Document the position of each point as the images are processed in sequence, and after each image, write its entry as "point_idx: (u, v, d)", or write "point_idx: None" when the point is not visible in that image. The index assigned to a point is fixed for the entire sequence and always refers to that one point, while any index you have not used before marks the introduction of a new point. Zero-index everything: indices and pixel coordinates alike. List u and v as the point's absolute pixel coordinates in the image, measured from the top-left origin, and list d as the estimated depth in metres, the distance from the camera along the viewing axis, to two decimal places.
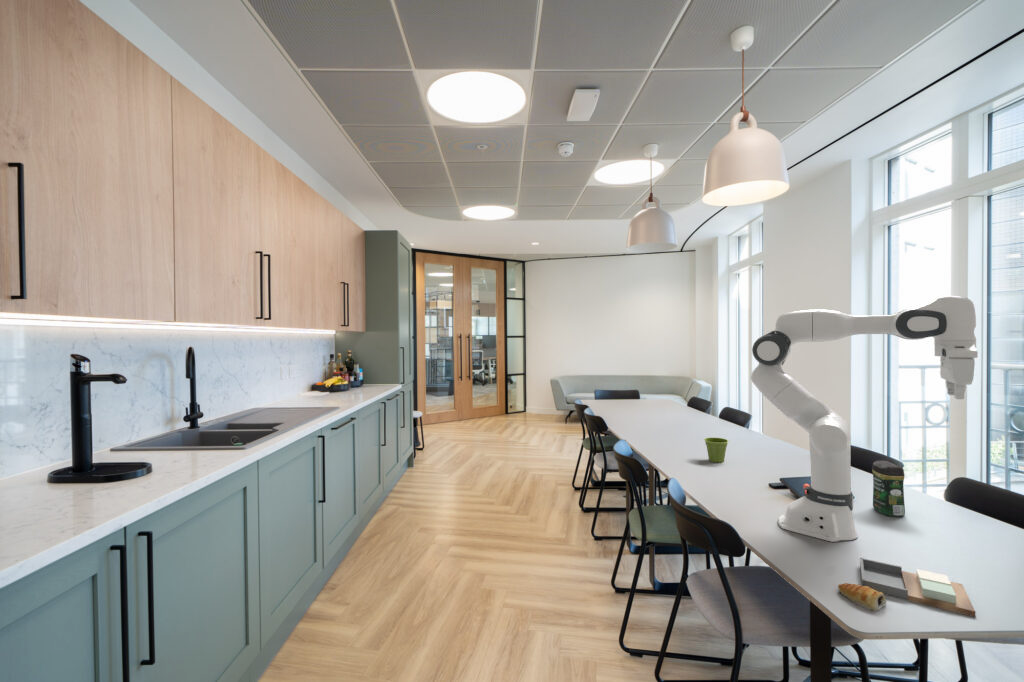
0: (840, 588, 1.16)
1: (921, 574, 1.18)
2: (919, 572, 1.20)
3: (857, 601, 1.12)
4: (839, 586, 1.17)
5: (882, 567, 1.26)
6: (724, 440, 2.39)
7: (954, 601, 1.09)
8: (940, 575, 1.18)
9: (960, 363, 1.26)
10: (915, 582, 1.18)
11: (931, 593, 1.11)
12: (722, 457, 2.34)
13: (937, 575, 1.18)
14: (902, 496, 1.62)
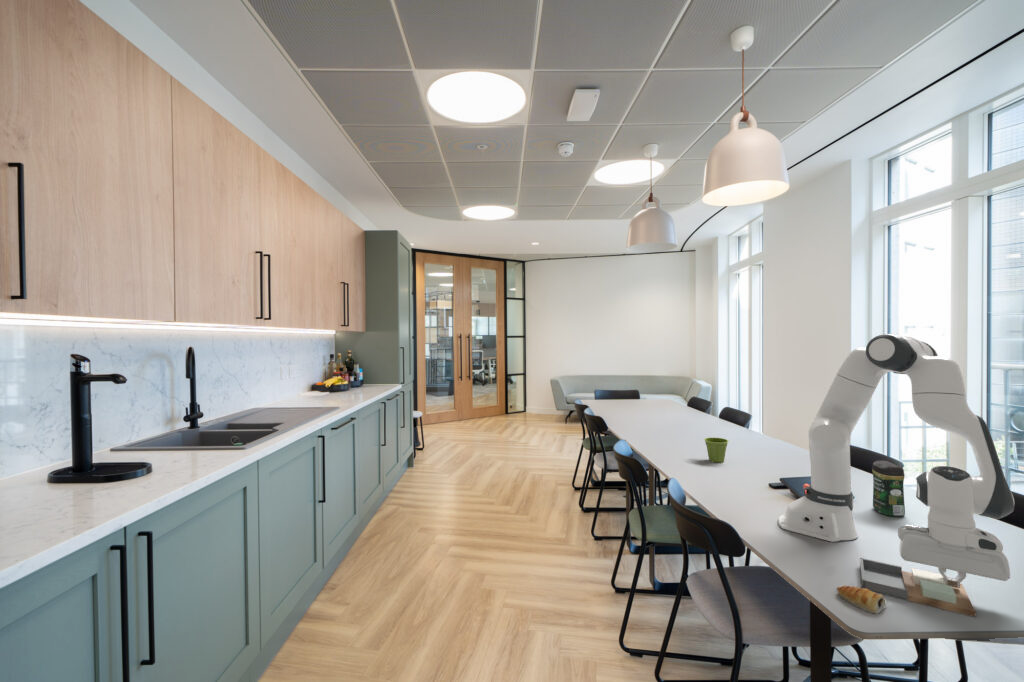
0: (839, 591, 1.15)
1: (916, 573, 1.19)
2: (914, 571, 1.20)
3: (857, 604, 1.11)
4: (838, 589, 1.16)
5: (882, 567, 1.26)
6: (724, 440, 2.39)
7: (954, 601, 1.09)
8: (935, 574, 1.18)
9: None
10: None
11: (931, 593, 1.11)
12: (722, 457, 2.34)
13: (932, 574, 1.18)
14: (902, 496, 1.62)
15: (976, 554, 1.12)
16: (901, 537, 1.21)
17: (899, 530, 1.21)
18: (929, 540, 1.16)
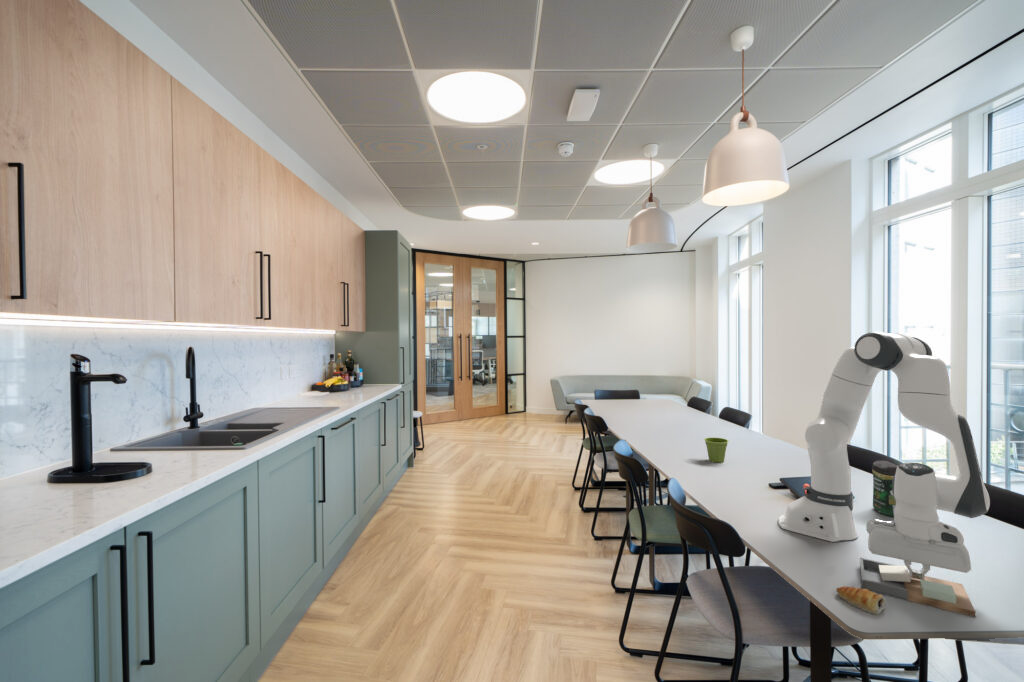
0: (839, 591, 1.15)
1: (882, 569, 1.23)
2: (880, 567, 1.24)
3: (857, 605, 1.10)
4: (838, 589, 1.15)
5: None
6: (724, 440, 2.39)
7: (954, 601, 1.09)
8: (899, 567, 1.22)
9: None
10: (915, 582, 1.18)
11: (931, 593, 1.11)
12: (722, 457, 2.34)
13: (897, 567, 1.23)
14: None
15: (939, 547, 1.16)
16: (869, 531, 1.25)
17: (867, 524, 1.25)
18: (895, 534, 1.20)
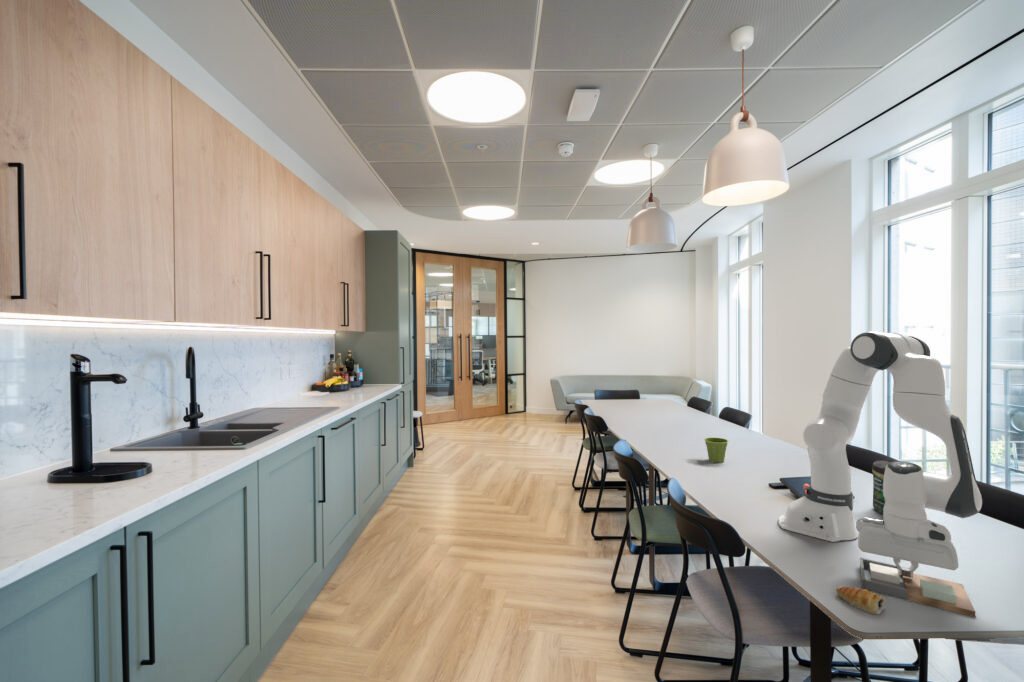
0: (839, 592, 1.15)
1: (872, 568, 1.24)
2: (871, 566, 1.25)
3: (857, 605, 1.10)
4: (838, 590, 1.15)
5: None
6: (724, 440, 2.39)
7: (954, 601, 1.09)
8: (891, 568, 1.24)
9: (953, 546, 1.15)
10: (915, 582, 1.18)
11: (931, 593, 1.11)
12: (722, 457, 2.34)
13: (888, 568, 1.24)
14: None
15: (927, 544, 1.17)
16: (859, 529, 1.26)
17: (857, 522, 1.26)
18: (884, 532, 1.22)
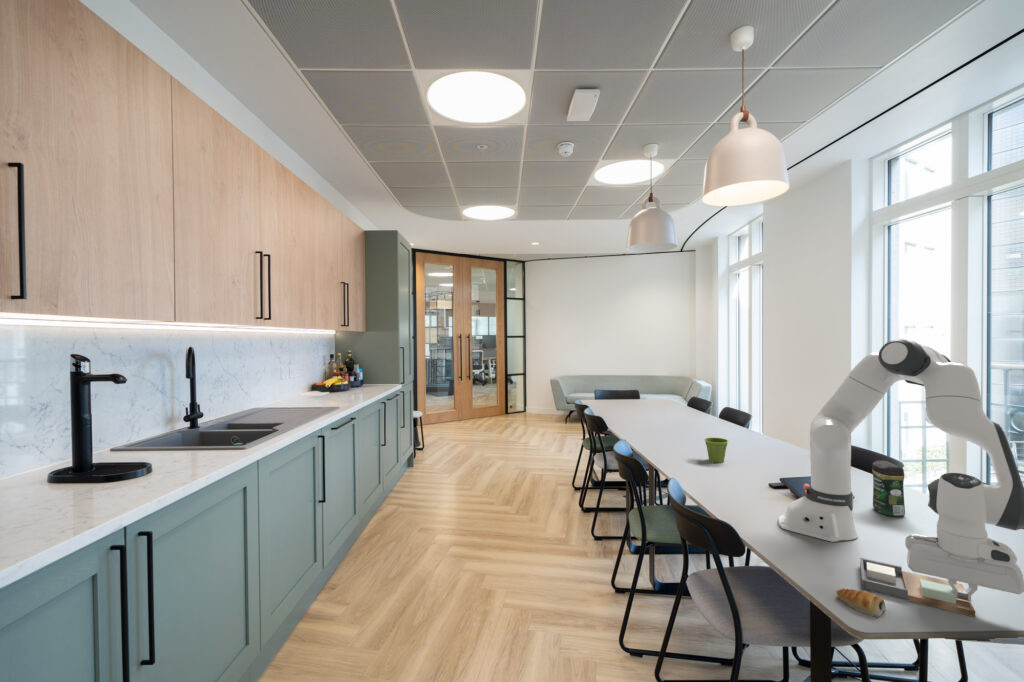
0: (839, 594, 1.14)
1: (869, 567, 1.25)
2: (868, 565, 1.26)
3: (858, 607, 1.09)
4: (838, 592, 1.14)
5: None
6: (724, 440, 2.39)
7: (954, 601, 1.09)
8: (887, 568, 1.24)
9: None
10: (915, 582, 1.18)
11: (931, 593, 1.11)
12: (722, 457, 2.34)
13: (885, 568, 1.24)
14: (902, 496, 1.62)
15: (988, 565, 1.06)
16: (909, 547, 1.15)
17: (906, 539, 1.16)
18: (939, 550, 1.11)
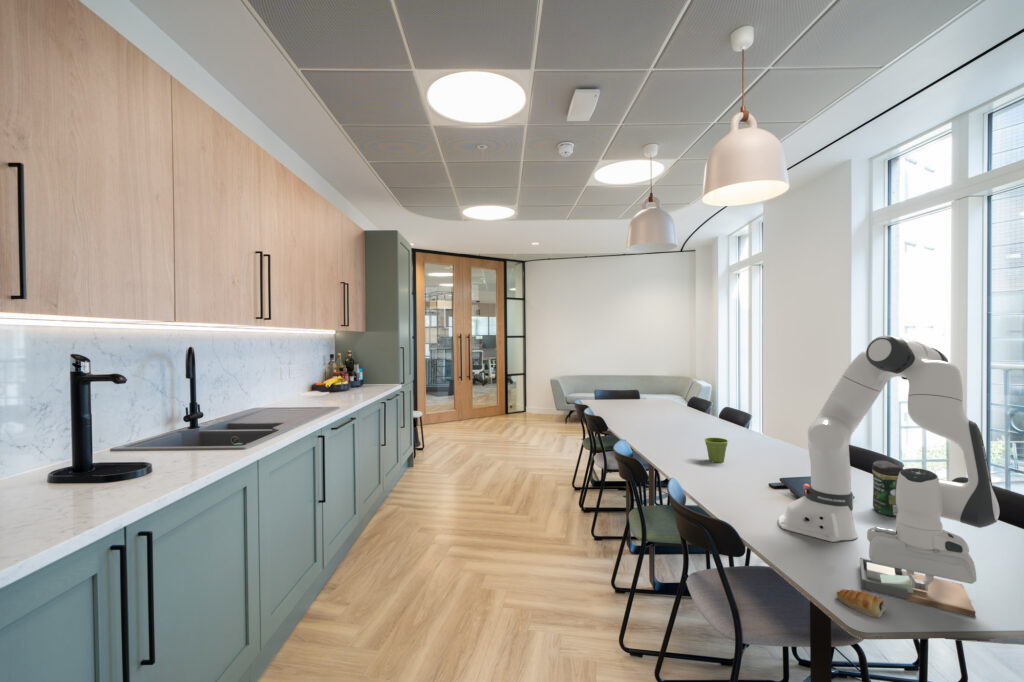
0: (839, 595, 1.13)
1: (869, 567, 1.25)
2: (868, 565, 1.26)
3: (858, 608, 1.09)
4: (838, 593, 1.14)
5: None
6: (724, 440, 2.39)
7: (911, 590, 1.14)
8: (887, 568, 1.24)
9: None
10: None
11: None
12: (722, 457, 2.34)
13: (885, 568, 1.24)
14: None
15: (943, 556, 1.11)
16: (870, 539, 1.20)
17: (868, 532, 1.20)
18: (897, 542, 1.15)
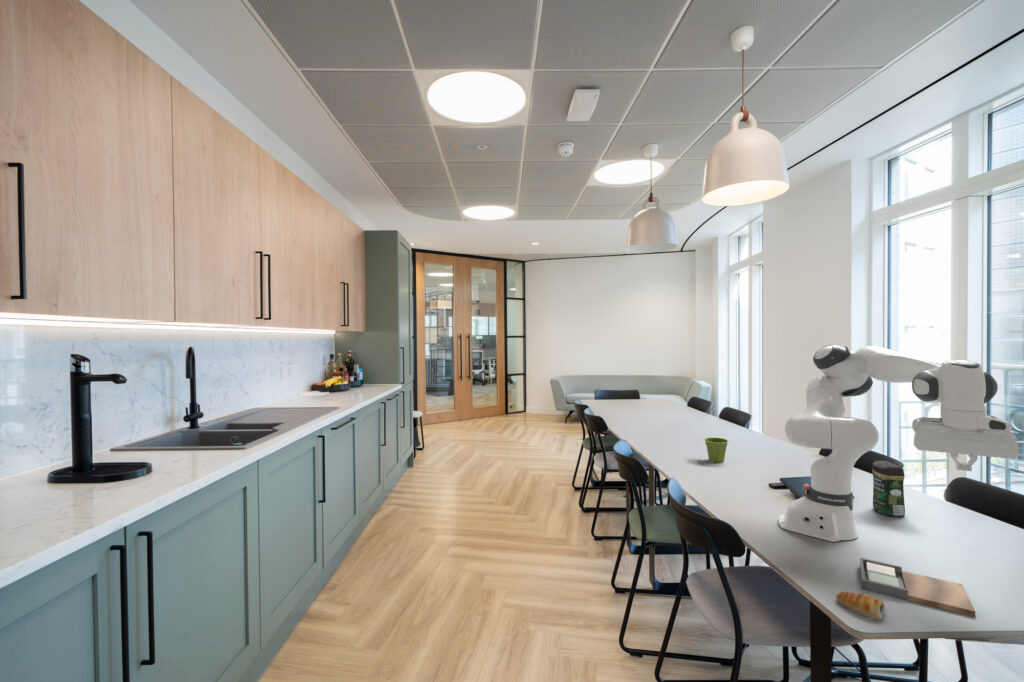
0: (839, 598, 1.12)
1: (869, 567, 1.25)
2: (868, 565, 1.26)
3: (860, 611, 1.08)
4: (838, 596, 1.13)
5: None
6: (724, 440, 2.39)
7: None
8: (887, 568, 1.24)
9: None
10: (915, 582, 1.18)
11: None
12: (722, 457, 2.34)
13: (885, 568, 1.24)
14: (902, 496, 1.62)
15: (986, 436, 1.19)
16: (915, 429, 1.28)
17: (913, 422, 1.28)
18: (942, 428, 1.24)
